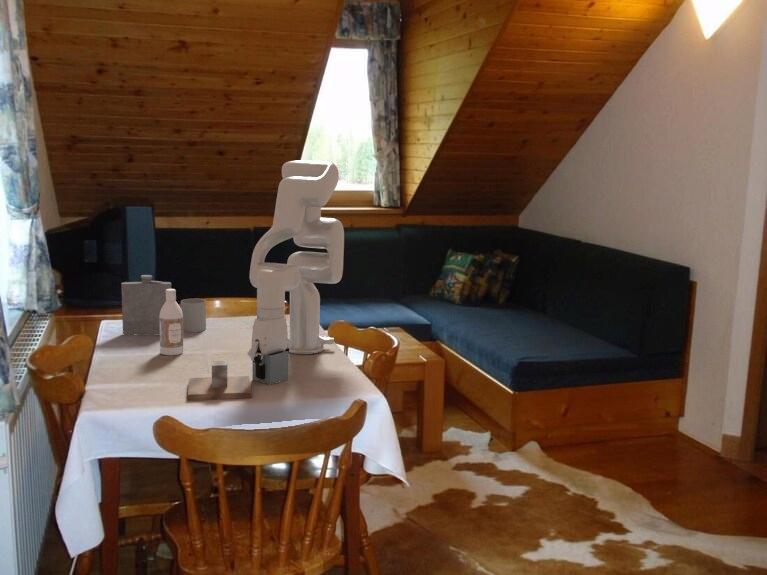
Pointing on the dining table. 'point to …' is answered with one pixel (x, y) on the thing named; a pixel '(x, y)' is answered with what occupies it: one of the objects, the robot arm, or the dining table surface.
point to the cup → (194, 315)
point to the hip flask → (143, 305)
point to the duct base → (219, 393)
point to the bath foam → (171, 326)
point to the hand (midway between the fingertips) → (270, 374)
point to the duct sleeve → (273, 368)
